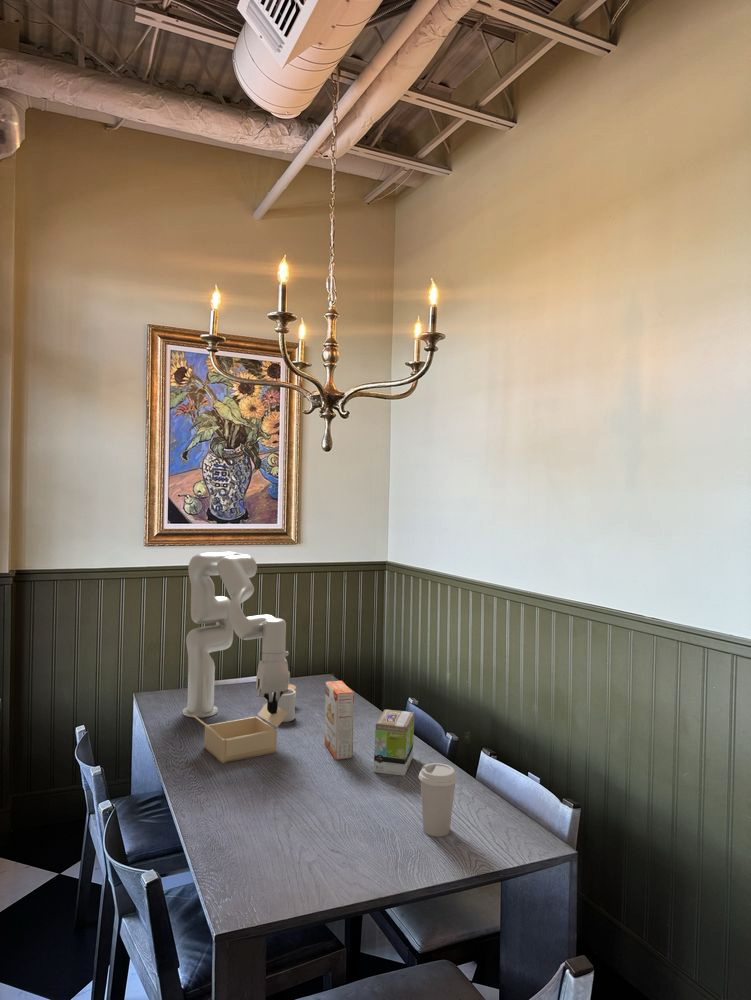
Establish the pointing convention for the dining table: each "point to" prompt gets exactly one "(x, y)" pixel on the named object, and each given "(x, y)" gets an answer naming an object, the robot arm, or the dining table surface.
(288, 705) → the mug
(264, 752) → the carton
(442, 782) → the coffee cup
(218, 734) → the flap near
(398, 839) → the dining table surface
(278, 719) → the flap far
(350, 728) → the cracker box
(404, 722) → the tea box
